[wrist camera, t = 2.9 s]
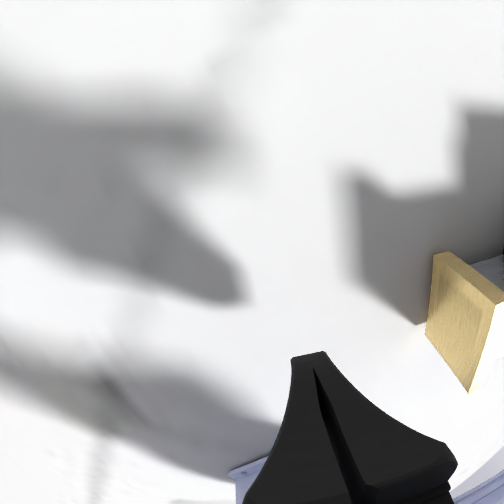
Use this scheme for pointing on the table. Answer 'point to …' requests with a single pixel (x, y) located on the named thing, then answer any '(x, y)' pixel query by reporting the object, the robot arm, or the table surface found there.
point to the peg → (467, 315)
